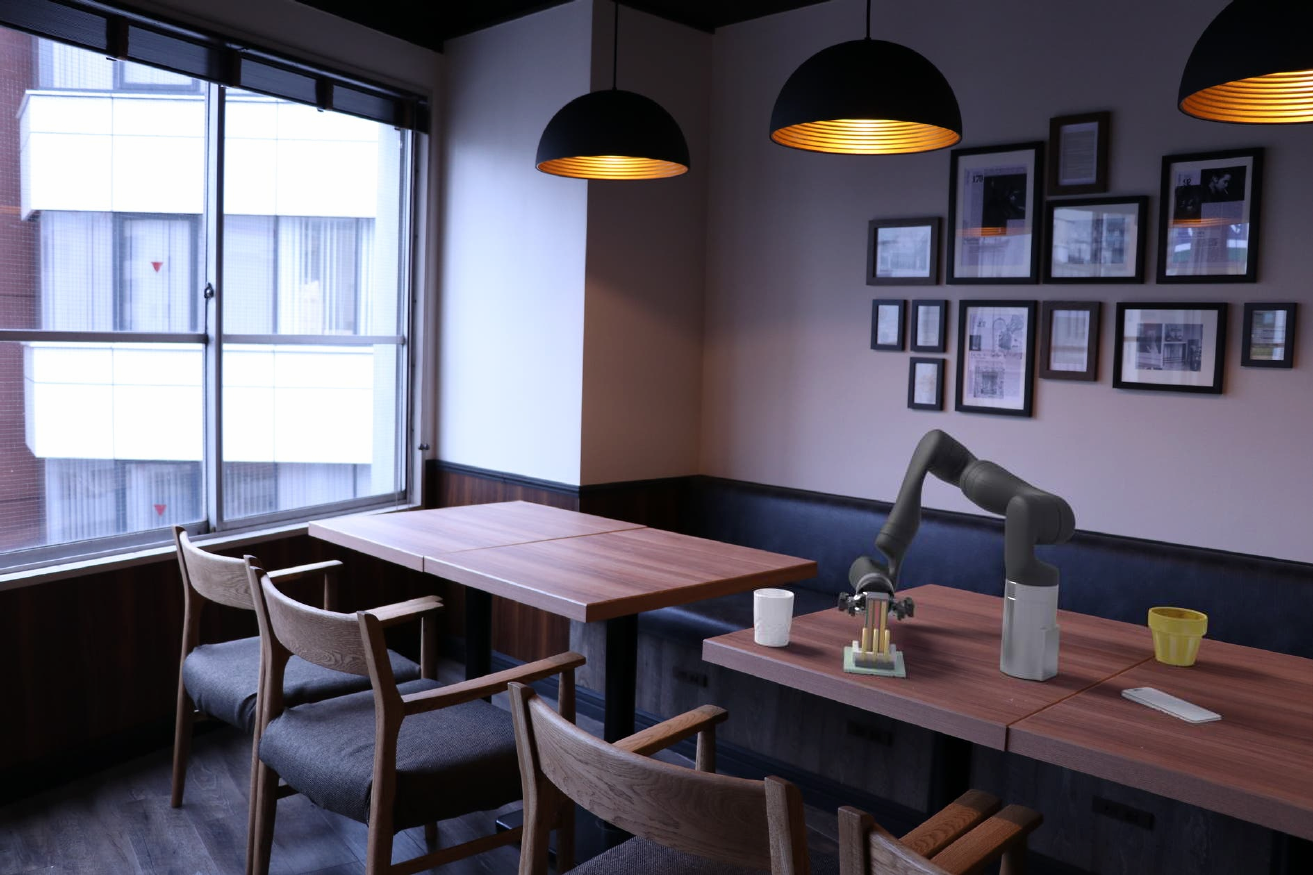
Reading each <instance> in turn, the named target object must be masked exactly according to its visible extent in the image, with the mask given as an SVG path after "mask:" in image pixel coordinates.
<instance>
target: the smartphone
mask: <svg viewBox="0 0 1313 875" xmlns="http://www.w3.org/2000/svg"><path fill="white" fill-rule="evenodd" d="M1121 696H1122V697H1124V698H1126V699H1129V700H1131V701H1134V702H1137V703H1138V704H1142V705H1144V706H1147V707H1149V708H1153V709H1154V708H1155V709H1154V710H1156V711H1160V710H1161V711H1160V712H1162V711H1163V712H1162V713H1165V714H1167V713H1168V715H1170V716H1173V717H1175V718H1178V717H1179V718H1178V719H1181V720H1182V721H1186V722H1187V723H1193V724H1201V723H1208V722H1213V721H1220V720H1222V718H1223V716H1222V715H1221V714H1219V713H1215V712H1213V711H1211V710H1209V709H1205V708H1203V707H1200V706H1198V705H1195V704H1194V703H1190V702H1188V701H1185V700H1183V699H1181V698H1178V697H1176V696H1173V695H1171V694H1168V693H1166V692H1164V691H1161V690H1159V689H1156V688H1154V687H1153V688H1152V687H1150V686H1143V687H1137V688H1129V689H1123V690H1121Z"/></svg>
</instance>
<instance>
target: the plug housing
mask: <svg viewBox="0 0 1313 875" xmlns="http://www.w3.org/2000/svg"><path fill="white" fill-rule="evenodd" d="M888 603H889V598H888V593H876V592H866V609H865V614H864V627H863V628H867V629H868V630H867V648H866V652H873V642H874V629H878V630H879V633H878V650H877V653H884V646H885V630H888V620H889V619H888V618H889V615H888Z"/></svg>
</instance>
